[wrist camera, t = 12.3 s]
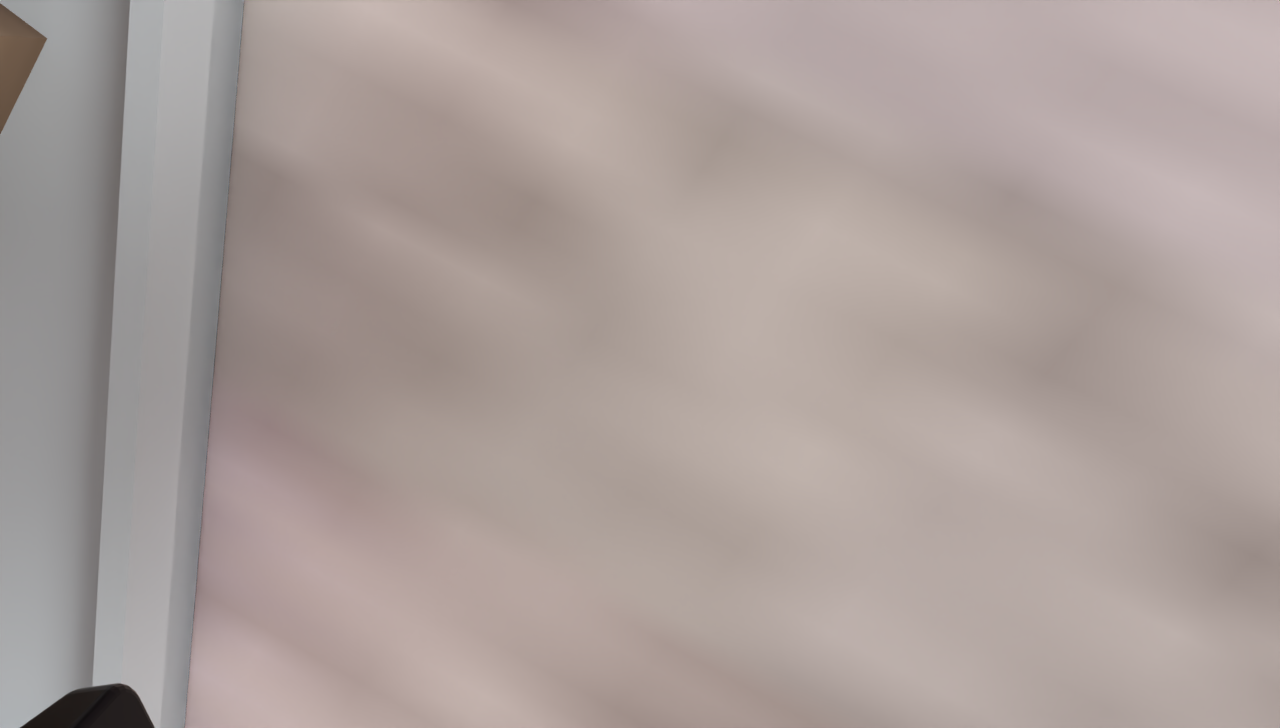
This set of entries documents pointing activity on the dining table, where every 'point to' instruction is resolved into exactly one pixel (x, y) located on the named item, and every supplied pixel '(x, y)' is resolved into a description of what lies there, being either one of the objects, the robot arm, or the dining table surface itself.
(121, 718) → the robot arm
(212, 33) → the plastic tray
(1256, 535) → the dining table surface
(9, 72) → the walnut block
